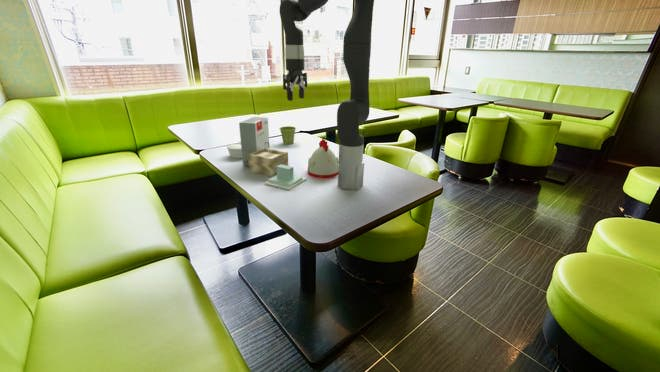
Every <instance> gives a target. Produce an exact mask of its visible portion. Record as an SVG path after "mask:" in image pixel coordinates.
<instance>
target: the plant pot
mask: <svg viewBox="0 0 660 372" xmlns="http://www.w3.org/2000/svg"><path fill="white" fill-rule="evenodd" d="M279 130H280V133H281V138H282V143H283V144H285V145H291V144H294V141H295V135H296V134H295V133H296V130H297V127H295V126H281V127H279Z"/></svg>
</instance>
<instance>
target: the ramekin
mask: <svg viewBox="0 0 660 372" xmlns="http://www.w3.org/2000/svg"><path fill="white" fill-rule="evenodd" d="M227 151H228V153H229V157H231V158H233V159H242V149H241V142H237V143H232V144H229V145H227Z"/></svg>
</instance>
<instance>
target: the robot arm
mask: <svg viewBox="0 0 660 372" xmlns="http://www.w3.org/2000/svg"><path fill="white" fill-rule="evenodd" d="M328 1H329V0H282V1H281V2H280V5H279V16H280V19H281V24H282V28H283V31H284V35H285V36H284V40H285V41H284V42H285V43H284V44H285V51H284V53H285V55H284V56H285V58H284V59H285V70H286V71H288V72H287V73H283V74H282V87H283V88H282V89H283V91H286V99H287V101H290V102H291V101H293V100H294V96H293V92H294V91H293V90H294V87H296V86H297V87H298V98H299V99H304V98H305V89H306V88H308V73H307V72H305V49H304V48H305V47H304V32H303V30H302V29H301V28H298V27H297V26H296V23H297V22H299V23H300V22H304V21H305V20H306V19H308V17H309V16H311V14H312V13H313V12H315V11H317V10H319V9H321V8H322V7H324V6H325V5H326V4H327V3H328ZM374 5H375V0H354V8H353V12H352V16H351V18H350V20H349V22H348V25H347V26H346V30H345V32H344V35H343V41H342V42H343V47H342V55H343V56H342V57H343V63H344V64H343V65H344V66H345V67H344V68H345V69H346V70H345V71H346V73H347V76H348V79H349V83H350V85H349V86H350V95H349V99H348V100H344V101H342V102H341V103H340V104H339V105H338V107H337V110H336V111H337V113H336V131H337V132H336V133H337V137H338V161H339V164H338V165H339V167H338V175H337V177H338V178H337V185H338V187H339V188H341V189H344V190H350V191H353V190H355V191H358V190H359V189H360V188H361V187H362V186H364V173H365V162H363V161H364V160H363V159H364V143H365V138H364V135H362V134H360V124H364V123H365V122H366V121H367V120H368V118H369V116H370V89H369V86H370V85H369V83H370V66H371V65H370V62H371V61H370V60H371V53H372V52H371V51H372V50H371V49H372V26H373V16H374V15H373V14H374ZM295 22H296V23H295ZM303 71H304V72H303Z"/></svg>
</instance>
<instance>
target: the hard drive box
mask: <svg viewBox="0 0 660 372" xmlns="http://www.w3.org/2000/svg"><path fill="white" fill-rule="evenodd" d="M238 124H239V125H238V126H239V137H240V143H241V149H242V158H241V159H242V165H243V166H248V167H249V159H248V154H250V153H252V152H255V151H258V150H260V149H263V148H268V149H271V148H270V146H271V145H270V131H269V117H262V116H253V117H250V118H248V119H245V120H243V121H240V122H239V123H238Z"/></svg>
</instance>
